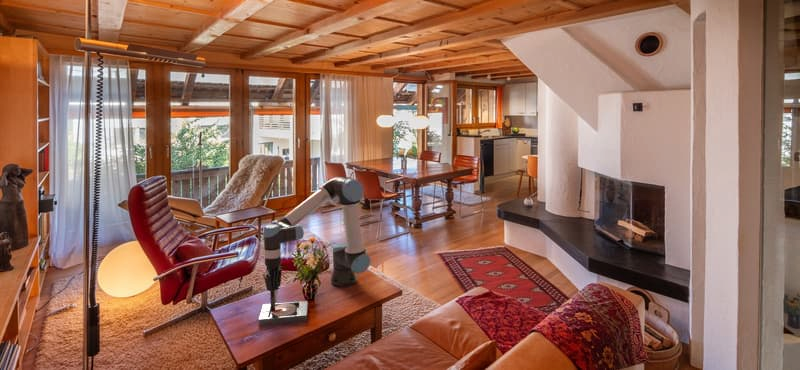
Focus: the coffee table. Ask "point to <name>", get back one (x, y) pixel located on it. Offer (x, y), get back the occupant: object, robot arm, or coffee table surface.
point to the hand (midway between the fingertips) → (274, 302)
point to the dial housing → (268, 319)
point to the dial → (282, 309)
